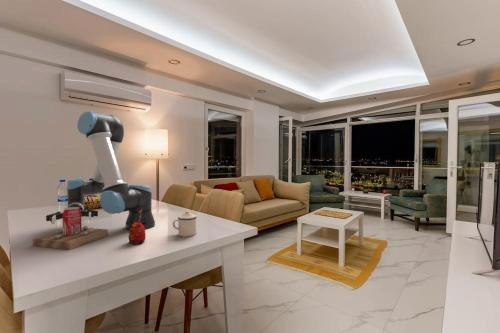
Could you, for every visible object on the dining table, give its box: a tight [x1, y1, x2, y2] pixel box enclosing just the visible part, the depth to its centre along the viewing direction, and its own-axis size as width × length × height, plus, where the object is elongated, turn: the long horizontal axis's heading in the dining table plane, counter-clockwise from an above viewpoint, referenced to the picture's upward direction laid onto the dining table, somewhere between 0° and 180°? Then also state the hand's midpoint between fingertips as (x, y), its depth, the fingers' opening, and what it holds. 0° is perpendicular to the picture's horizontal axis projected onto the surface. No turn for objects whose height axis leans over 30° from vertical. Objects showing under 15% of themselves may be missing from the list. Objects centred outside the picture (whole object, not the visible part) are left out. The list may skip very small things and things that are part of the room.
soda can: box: [62, 206, 82, 235], centre depth 117 cm, size 7×7×12 cm
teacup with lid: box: [172, 210, 197, 238], centre depth 127 cm, size 12×9×12 cm
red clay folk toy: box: [128, 210, 147, 245], centre depth 115 cm, size 8×7×15 cm
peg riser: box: [32, 225, 109, 250], centre depth 117 cm, size 20×20×4 cm
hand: (71, 219), depth 114 cm, fingers open, 13 cm apart
